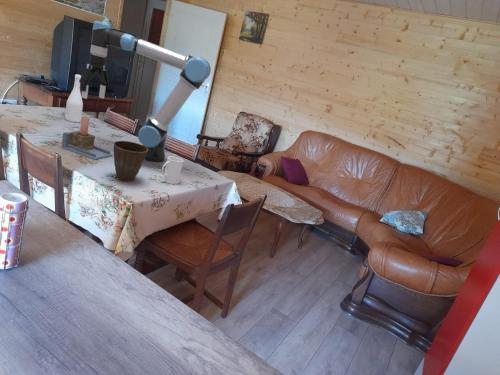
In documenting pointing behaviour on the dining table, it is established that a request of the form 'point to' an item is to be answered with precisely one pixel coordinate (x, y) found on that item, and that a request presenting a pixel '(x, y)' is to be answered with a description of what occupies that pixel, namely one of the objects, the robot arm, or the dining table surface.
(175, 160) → the mug
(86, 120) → the dowel
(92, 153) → the rail board
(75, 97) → the wine bottle
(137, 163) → the plant pot
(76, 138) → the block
